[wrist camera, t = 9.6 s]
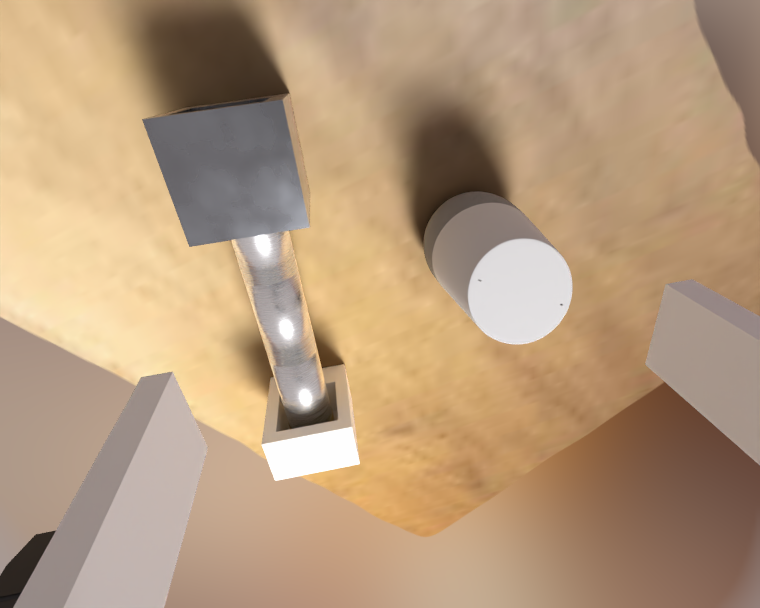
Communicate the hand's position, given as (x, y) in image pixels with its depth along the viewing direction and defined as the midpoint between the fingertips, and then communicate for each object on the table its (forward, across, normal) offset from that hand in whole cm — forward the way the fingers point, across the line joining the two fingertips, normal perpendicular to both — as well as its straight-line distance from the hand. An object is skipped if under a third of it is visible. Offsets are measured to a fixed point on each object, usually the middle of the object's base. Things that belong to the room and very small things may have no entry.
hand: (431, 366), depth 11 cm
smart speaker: (+29, +10, -8) cm, 32 cm away
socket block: (+28, -8, -24) cm, 38 cm away
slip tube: (+25, -8, -11) cm, 29 cm away
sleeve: (+29, -8, +2) cm, 30 cm away
